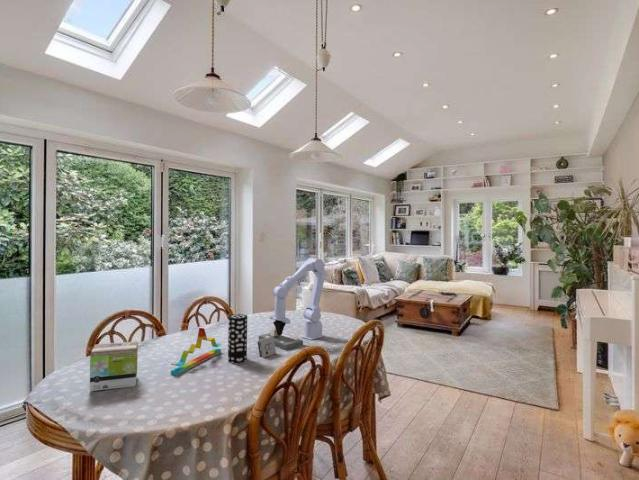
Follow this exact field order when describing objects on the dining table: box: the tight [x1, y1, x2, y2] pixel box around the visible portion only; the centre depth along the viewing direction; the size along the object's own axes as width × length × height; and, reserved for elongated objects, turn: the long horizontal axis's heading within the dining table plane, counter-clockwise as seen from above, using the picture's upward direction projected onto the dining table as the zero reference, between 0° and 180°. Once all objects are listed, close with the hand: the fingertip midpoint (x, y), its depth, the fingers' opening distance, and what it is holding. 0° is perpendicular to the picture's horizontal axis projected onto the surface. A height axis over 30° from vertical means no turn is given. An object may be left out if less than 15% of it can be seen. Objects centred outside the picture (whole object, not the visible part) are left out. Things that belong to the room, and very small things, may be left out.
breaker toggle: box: [269, 327, 278, 336], centre depth 197 cm, size 4×3×4 cm
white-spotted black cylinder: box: [227, 313, 248, 364], centre depth 167 cm, size 8×8×20 cm
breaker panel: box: [258, 332, 304, 351], centre depth 194 cm, size 12×22×3 cm, turn 46°
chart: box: [170, 327, 222, 376], centre depth 163 cm, size 30×3×15 cm, turn 160°
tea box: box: [89, 340, 139, 393], centre depth 139 cm, size 15×10×15 cm, turn 114°
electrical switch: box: [257, 336, 277, 358], centre depth 175 cm, size 8×5×8 cm, turn 141°
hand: (279, 334), depth 194 cm, fingers closed
